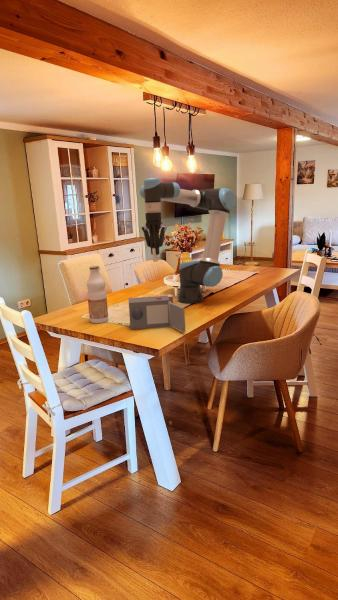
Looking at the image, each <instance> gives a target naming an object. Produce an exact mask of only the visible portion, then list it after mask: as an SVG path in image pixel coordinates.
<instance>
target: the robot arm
mask: <svg viewBox="0 0 338 600" xmlns="http://www.w3.org/2000/svg"><path fill="white" fill-rule="evenodd" d="M139 195H140V197H141V198H142V199H144V211H145V213H144V214H145V224H144V225H143V226H141V230H142V232H143V235H144V239H145V243H146V247H149V248H150V254H151V255H152V262H154V263H156V262H158V261H159V255H160V248H161V247H163V246H164V240H165V234H166V231H167V226H165V225H163V223H162V212H161V211H162V206H161V205H162V202H169V203H176V204H183V205H184V204H185V205H189V206H190V207H192V208H197V209H201V210H204V211H208V213H209V221H208V228H207V233H206V238H205V243H204V248H203V249H204V250H203V254H202V258H200V259H199V260H189V261H184V262H183V261H182V262H181V263H180V264H179V270H178V271H179V286H180V287H179V291H178V294H177V301H178V302H179V303H182V304H197V303H200V302H201V303H202V302H203V301H204V294H203V292H202V289H201V286H203V287H204V286H205V287H211V288H212V287H216V286H218V285H219V284H220V283H221V281H222V279H223V269H222V267H221V263H220V262H219V256H220V250H221V246H222V242H223V235H224V230H225V226H226V225H225V223H226V219H227V217H229V216H230V213H231V211H232V210H234V209H235V207H236V204H237V197H236V195H235V193H234V191H233V190H232V189H231V188H225V187H221V188H209V189H208V188H207V189H192V190H188V189H183V188H181V187H180V184H179V183H177V182H174V181H169V182H168V181H167V182H164V181H163V182H161V180H160V178H159V177H149V178H145V179H143V184H142V185H141V187H140V188H139Z"/></svg>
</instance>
